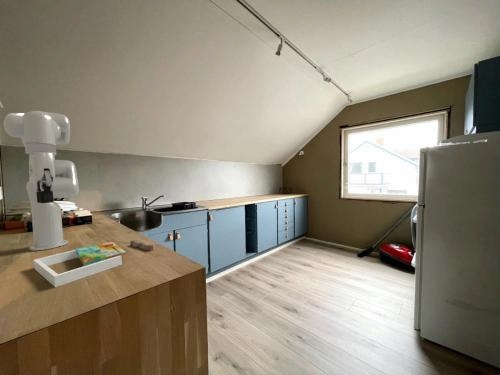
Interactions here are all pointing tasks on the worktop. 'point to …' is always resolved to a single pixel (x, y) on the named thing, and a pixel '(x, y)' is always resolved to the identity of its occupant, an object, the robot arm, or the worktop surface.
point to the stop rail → (141, 245)
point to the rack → (72, 275)
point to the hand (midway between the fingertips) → (45, 202)
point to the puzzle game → (99, 253)
